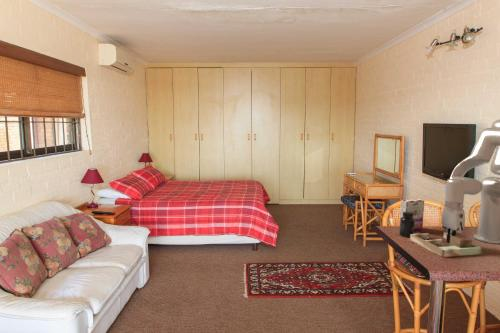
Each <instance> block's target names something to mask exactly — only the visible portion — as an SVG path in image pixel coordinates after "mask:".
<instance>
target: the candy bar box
mask: <svg viewBox="0 0 500 333" xmlns="http://www.w3.org/2000/svg"><path fill="white" fill-rule="evenodd" d="M400 202H401V203H400V219H401V217H403V212H412V213H413V217H412V218H414V220H415V225H414V231H419V230H421V231H422V230H423V226H424V225H423V224H424V209H425V208H424V207H425V200H424V199H423V198H422V199H421V198H406V199H405V198H403V199H401V201H400Z"/></svg>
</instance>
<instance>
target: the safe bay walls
mask: <svg viewBox="0 0 500 333" xmlns="http://www.w3.org/2000/svg"><path fill="white" fill-rule="evenodd" d="M439 248H441V249H456V248H459V247H457V246H450V245H449V246H442V247H439ZM460 249H462V250H461V256H462V257H463V256H473V255H481V254H482V250H483V249H482V246H479V245H477V244H474V243H472V244H471V247H470V248H460ZM461 256H460V257H461Z"/></svg>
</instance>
